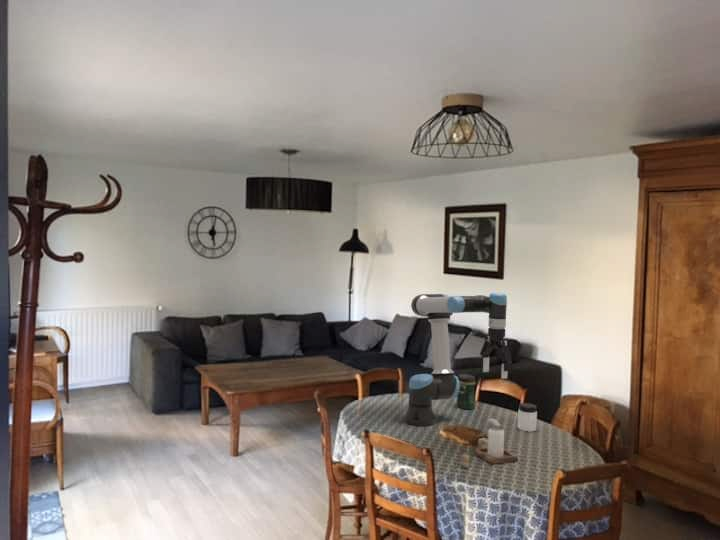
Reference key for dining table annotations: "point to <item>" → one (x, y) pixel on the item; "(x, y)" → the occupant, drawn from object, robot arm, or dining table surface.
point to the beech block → (482, 443)
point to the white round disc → (490, 423)
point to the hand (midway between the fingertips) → (494, 375)
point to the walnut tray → (505, 459)
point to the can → (495, 441)
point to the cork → (465, 460)
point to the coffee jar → (466, 391)
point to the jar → (527, 417)
